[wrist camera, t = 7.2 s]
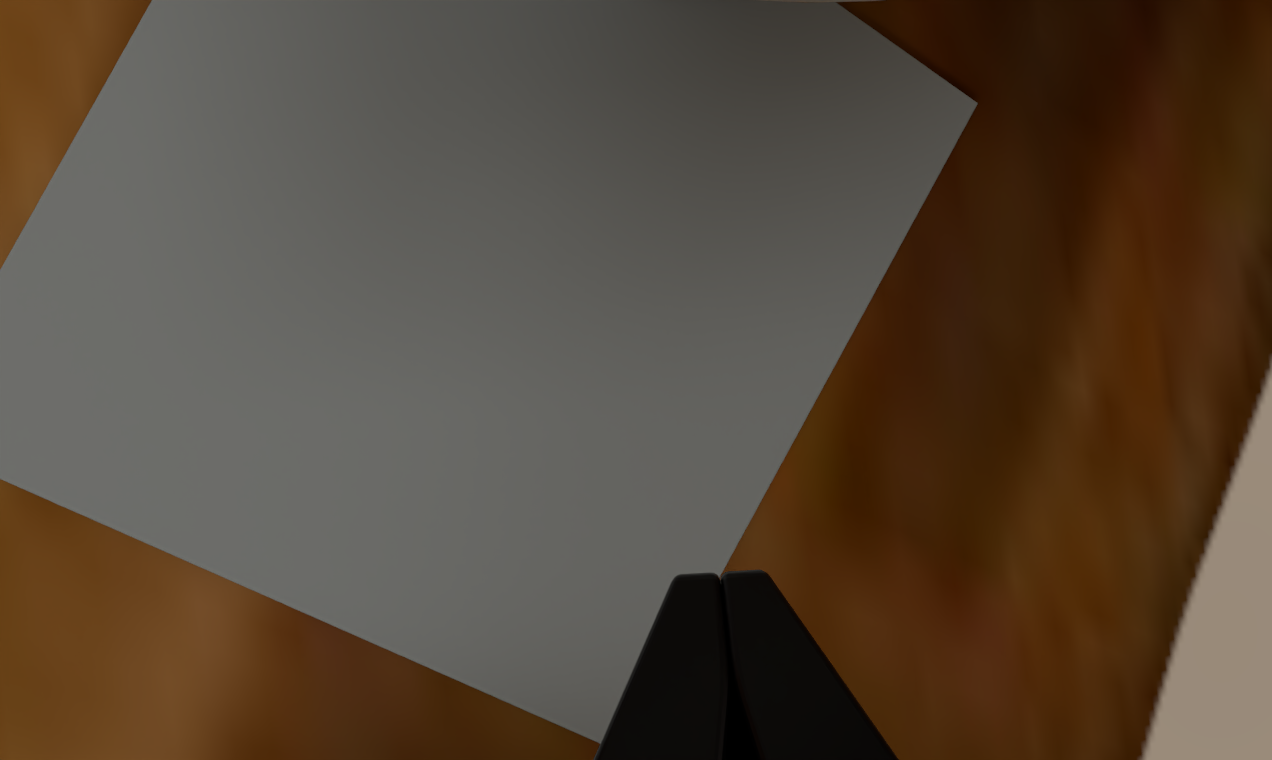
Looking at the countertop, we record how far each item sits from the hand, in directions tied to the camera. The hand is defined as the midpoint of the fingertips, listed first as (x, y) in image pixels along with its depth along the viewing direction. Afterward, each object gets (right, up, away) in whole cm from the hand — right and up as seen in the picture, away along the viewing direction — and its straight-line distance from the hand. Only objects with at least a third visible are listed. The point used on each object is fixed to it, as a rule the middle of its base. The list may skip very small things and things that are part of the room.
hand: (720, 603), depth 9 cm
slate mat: (-3, +4, +10) cm, 11 cm away
